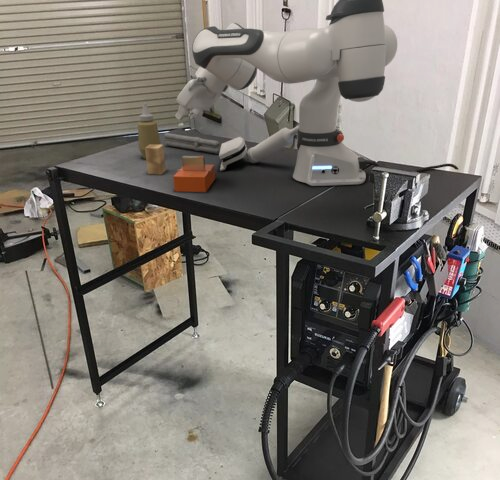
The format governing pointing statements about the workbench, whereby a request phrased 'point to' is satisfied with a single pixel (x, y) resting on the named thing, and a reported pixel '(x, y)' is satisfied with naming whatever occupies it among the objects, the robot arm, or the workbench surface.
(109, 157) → the workbench surface
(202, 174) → the orange box
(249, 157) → the bottle
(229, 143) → the white rounded block
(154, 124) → the squeeze bottle
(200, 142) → the metal rod assembly
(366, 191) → the workbench surface
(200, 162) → the tan rectangular block
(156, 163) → the workpiece
